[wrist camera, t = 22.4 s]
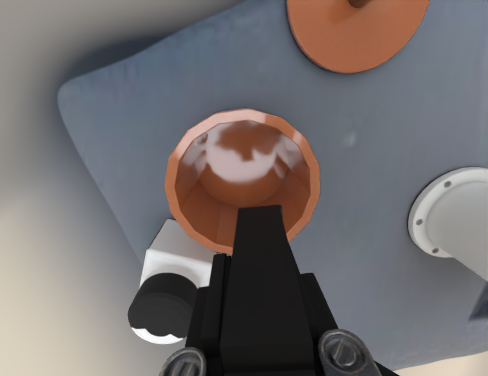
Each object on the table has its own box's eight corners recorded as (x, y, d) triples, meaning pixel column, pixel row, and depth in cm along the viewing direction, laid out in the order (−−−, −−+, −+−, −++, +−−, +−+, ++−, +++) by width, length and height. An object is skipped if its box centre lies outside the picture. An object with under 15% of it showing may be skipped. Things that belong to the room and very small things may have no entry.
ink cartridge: (285, 273, 14) (321, 468, 7) (248, 276, 14) (244, 468, 7) (280, 200, 12) (322, 354, 5) (238, 204, 13) (217, 358, 5)
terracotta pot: (290, 100, 25) (318, 98, 16) (296, 203, 29) (321, 246, 20) (178, 116, 26) (146, 122, 17) (200, 215, 30) (184, 263, 21)
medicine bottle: (166, 217, 30) (122, 286, 18) (220, 230, 31) (209, 304, 19) (157, 261, 32) (112, 346, 21) (207, 272, 33) (190, 361, 22)
